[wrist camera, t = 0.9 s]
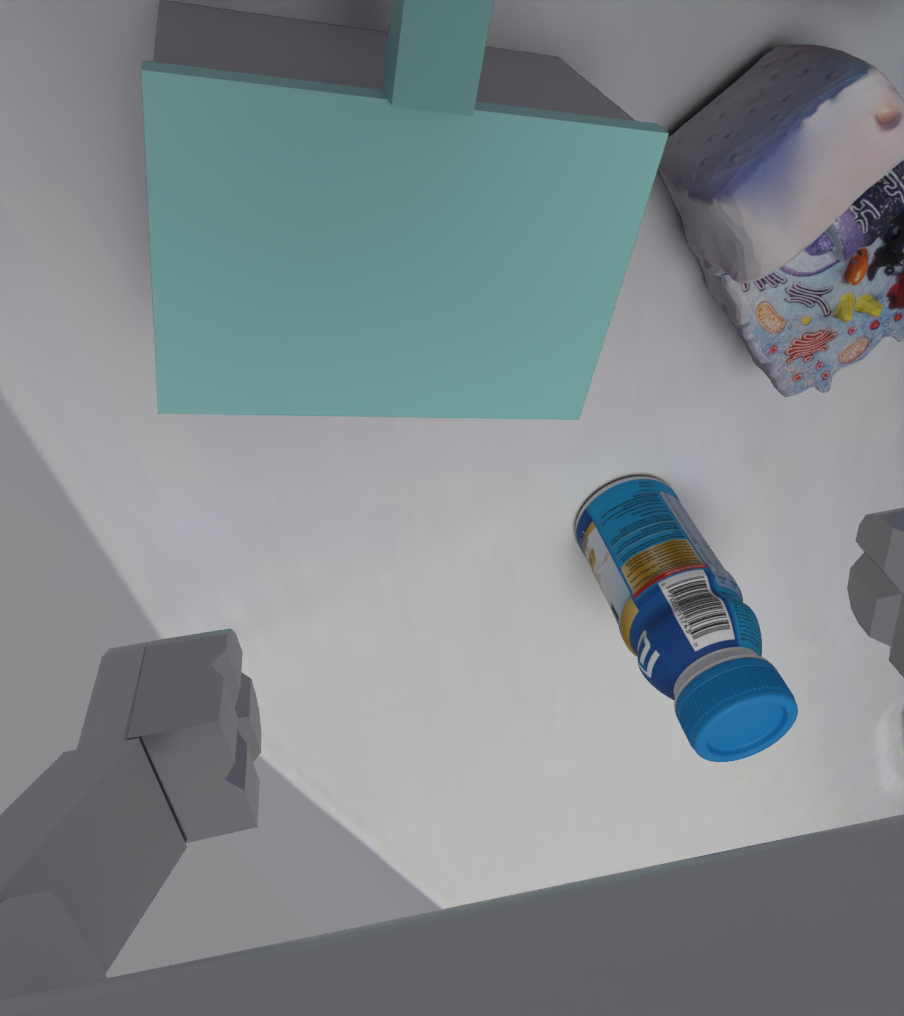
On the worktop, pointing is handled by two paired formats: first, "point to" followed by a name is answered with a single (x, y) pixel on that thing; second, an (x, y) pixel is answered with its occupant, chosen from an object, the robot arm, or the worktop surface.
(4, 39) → the worktop surface
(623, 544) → the beverage bottle
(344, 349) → the lid
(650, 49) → the worktop surface
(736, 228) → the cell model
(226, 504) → the worktop surface
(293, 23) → the tub
